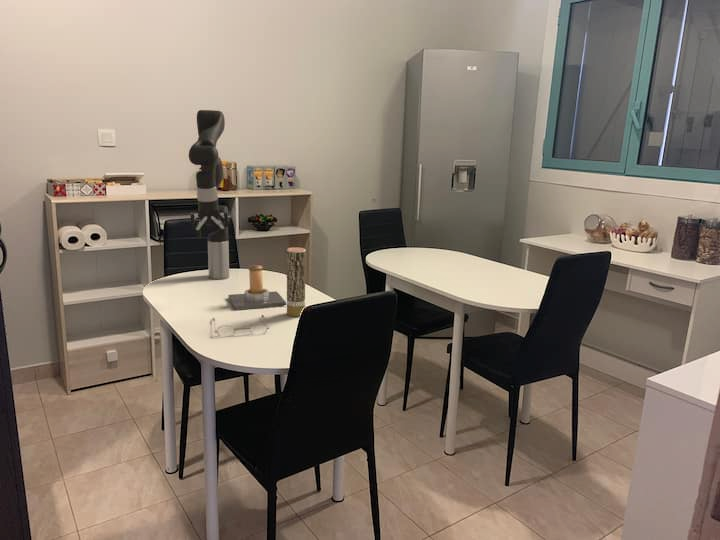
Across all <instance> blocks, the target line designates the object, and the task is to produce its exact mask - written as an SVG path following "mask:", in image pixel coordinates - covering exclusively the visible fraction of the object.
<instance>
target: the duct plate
mask: <svg viewBox="0 0 720 540" xmlns="http://www.w3.org/2000/svg"><path fill="white" fill-rule="evenodd" d="M227 297H228V298H227V299H228V300H229V302H230V304H231V305H232V307H233V310H234V309H235V310H234V311H238V310H239V309H240V311H241V309H242V310H252V308H254V309H262V308H261V307H267V308H275V307H274V306H279V307H285V306H284V305H286V306H287V301H286V300H285V299H284V298H283V297H282V295H281V294H280V293H279V292H278V291H276V290H275V291H269V290H268V289H267V288H263V293H261V294H252V293H250V288H248V289H246V290H244V293H236V294H228V295H227Z"/></svg>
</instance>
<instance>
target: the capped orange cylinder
mask: <svg viewBox="0 0 720 540" xmlns="http://www.w3.org/2000/svg"><path fill="white" fill-rule="evenodd" d="M263 267H264V266H263V265H259V264H257V265H256V264H253V265H249V266H248V271H249V273H248V275H249V289H250V293H252V294H261V293H263V289H264V288H263V286H264V285H263V282H264V281H263Z"/></svg>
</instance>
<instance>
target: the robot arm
mask: <svg viewBox="0 0 720 540" xmlns="http://www.w3.org/2000/svg"><path fill="white" fill-rule="evenodd" d="M225 121H226V120H225V115H224V112H222V111H220V110H216V109H215V110H214V109H213V110H211V109H207V110H206V109H200V110H197V113H196V126H197V134H198V138H197V140H196V142H194V143H193V144H192V145H191V146H190V149H189V151H188V159H189V161H190V163H191V164H193V165H195V166H200V171H199V170H198V171H197V172H196V174H195V179H196V198H197V206H198V213H197V212H194V211H193V212H190V228H191V229H192V230H196V237H197V238H198V240H201V239H202V232H201V228H202V226H203V225H206V226H208V227H211V226H212V227H215V226H216V227H219V229H218V230H216V231H213V232H210V233H208V234H207V255H208V256H207V257H208V259H207V260H208V261H207V263H208V278H209V279H212V280H223V279H227V278H228V279H229V278H230V252H229V249H230V248H229V247H230V246H229V226H230V223H229V208H228V206H226V205H222V204H221V205H219V201H218V200H219V197H218V188H219V187H220V185H221V184H222V182H223V180H224V167H223V166H224V165H223V161H222V160H221V158H220V156H219V151H218V149H217V148H216V146H217V144H218V143H217V142H218V140H219V139H220V137H221V136H222V134H223V132H224V131H225V126H226V125H225V123H226V122H225ZM197 217H198V218H199V222H198V223H197V225H196V224H195V222H196V221H195V220H196V219H197Z"/></svg>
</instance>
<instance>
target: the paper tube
mask: <svg viewBox="0 0 720 540" xmlns="http://www.w3.org/2000/svg"><path fill="white" fill-rule="evenodd" d="M306 253H307V252H306V248H304V247H295V246H294V247H288V248H286V314H287V315H288V316H290V317H301V316H300V313H301V311H302V309H303V308H304V307H305V308H306V260H307V259H306V258H307V257H306V256H307V255H306Z"/></svg>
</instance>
